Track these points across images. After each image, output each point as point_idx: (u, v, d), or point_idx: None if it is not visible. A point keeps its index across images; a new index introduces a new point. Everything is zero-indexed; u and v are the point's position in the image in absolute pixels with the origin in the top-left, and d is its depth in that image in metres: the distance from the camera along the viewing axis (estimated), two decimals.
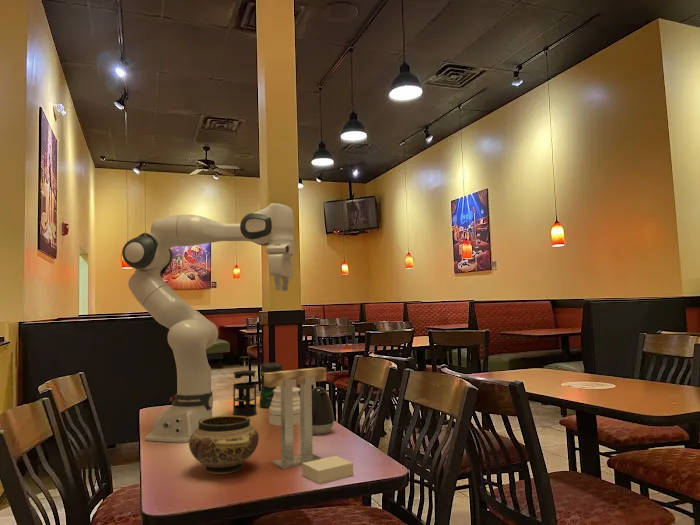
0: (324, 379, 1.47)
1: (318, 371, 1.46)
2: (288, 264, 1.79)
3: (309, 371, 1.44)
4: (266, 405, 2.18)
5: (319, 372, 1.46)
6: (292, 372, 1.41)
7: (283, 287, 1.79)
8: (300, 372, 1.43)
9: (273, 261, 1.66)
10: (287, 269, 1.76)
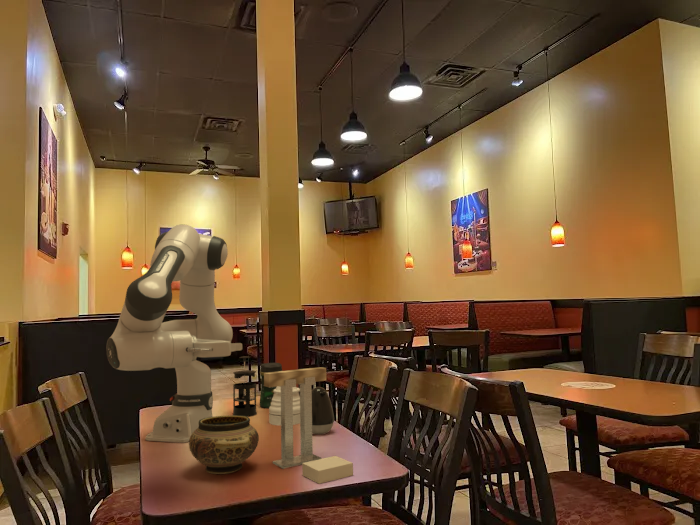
0: (324, 379, 1.47)
1: (318, 371, 1.46)
2: None
3: (309, 371, 1.44)
4: (266, 405, 2.18)
5: (319, 372, 1.46)
6: (292, 372, 1.41)
7: None
8: (300, 372, 1.43)
9: None
10: None
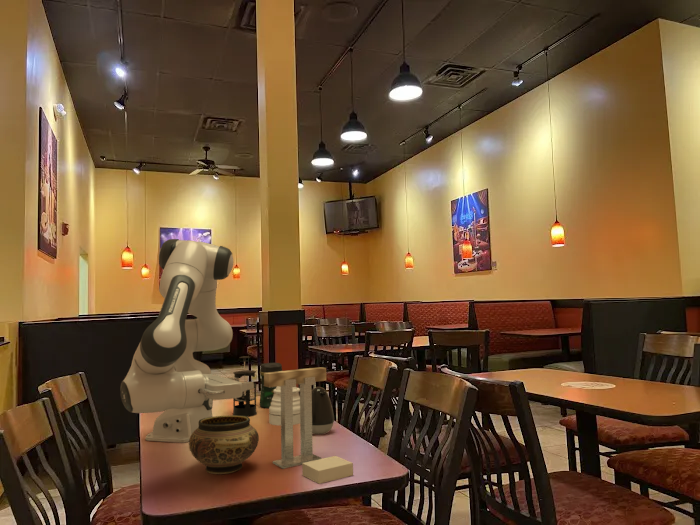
0: (324, 379, 1.47)
1: (318, 371, 1.46)
2: None
3: (309, 371, 1.44)
4: (266, 405, 2.18)
5: (319, 372, 1.46)
6: (292, 372, 1.41)
7: None
8: (300, 372, 1.43)
9: None
10: None
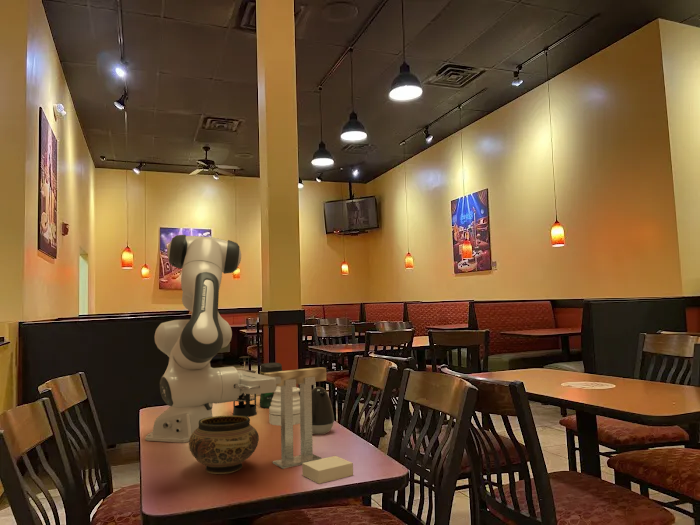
0: (324, 379, 1.47)
1: (318, 371, 1.46)
2: None
3: (309, 371, 1.44)
4: (266, 405, 2.18)
5: (319, 372, 1.46)
6: (292, 372, 1.41)
7: None
8: (300, 372, 1.43)
9: None
10: None
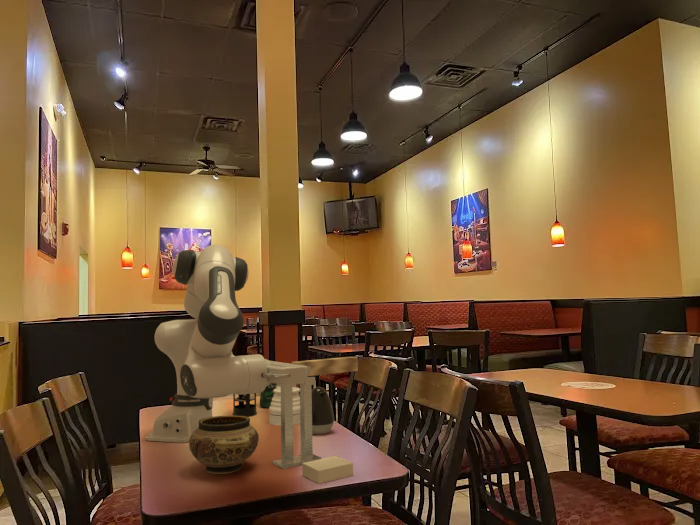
0: (355, 369, 1.35)
1: (349, 361, 1.34)
2: None
3: (340, 360, 1.33)
4: (266, 405, 2.18)
5: (351, 361, 1.35)
6: (322, 361, 1.30)
7: None
8: (330, 361, 1.31)
9: None
10: None
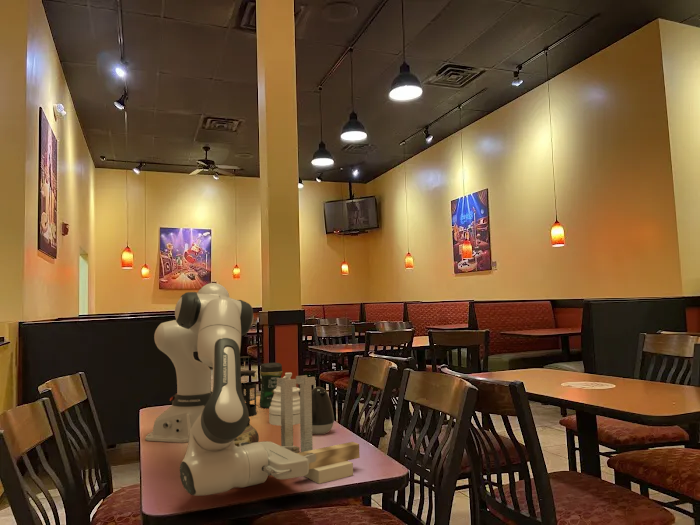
0: (357, 456, 1.33)
1: (351, 448, 1.32)
2: None
3: (341, 449, 1.31)
4: (266, 405, 2.18)
5: (352, 449, 1.33)
6: (323, 452, 1.28)
7: None
8: (331, 451, 1.29)
9: None
10: None
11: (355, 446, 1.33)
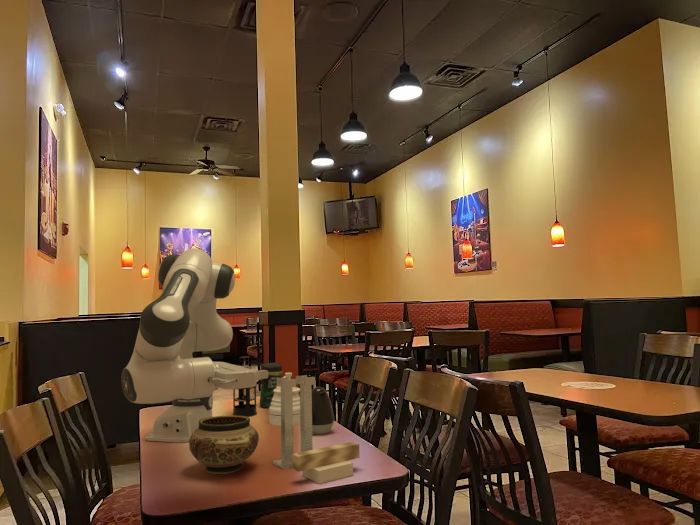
0: (357, 456, 1.33)
1: (351, 448, 1.32)
2: None
3: (341, 449, 1.31)
4: (266, 405, 2.18)
5: (352, 449, 1.33)
6: (323, 452, 1.28)
7: None
8: (331, 451, 1.29)
9: None
10: None
11: (355, 446, 1.33)
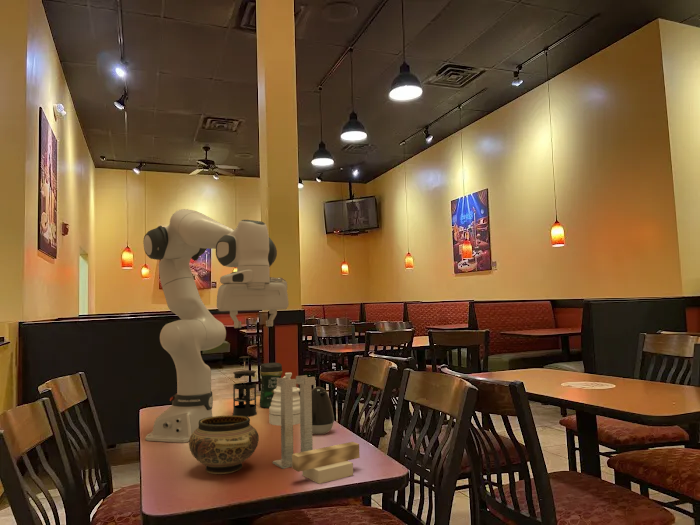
0: (357, 456, 1.33)
1: (351, 448, 1.32)
2: (268, 293, 1.44)
3: (341, 449, 1.31)
4: (266, 405, 2.18)
5: (352, 449, 1.33)
6: (323, 452, 1.28)
7: (266, 322, 1.45)
8: (331, 451, 1.29)
9: (219, 294, 1.38)
10: (259, 300, 1.42)
11: (355, 446, 1.33)
